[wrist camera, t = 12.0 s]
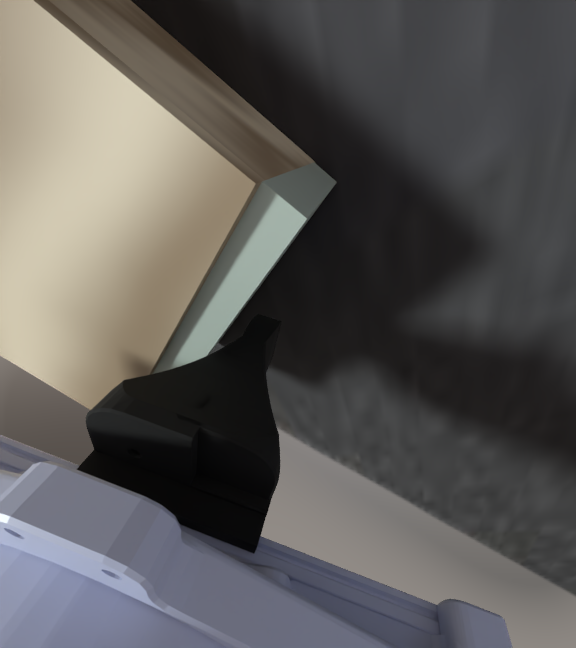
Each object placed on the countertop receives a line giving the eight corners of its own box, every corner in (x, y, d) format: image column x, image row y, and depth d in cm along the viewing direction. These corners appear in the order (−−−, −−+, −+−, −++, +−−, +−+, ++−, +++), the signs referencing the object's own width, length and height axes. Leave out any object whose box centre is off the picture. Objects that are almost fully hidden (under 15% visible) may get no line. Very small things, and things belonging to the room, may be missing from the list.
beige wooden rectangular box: (315, 162, 11) (255, 183, 5) (202, 333, 18) (119, 427, 12) (-10, -122, 9) (-697, -601, 3) (-2, 191, 16) (-224, 220, 10)
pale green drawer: (336, 182, 11) (307, 218, 6) (215, 346, 18) (149, 433, 13) (11, -103, 9) (-499, -451, 4) (11, 204, 16) (-175, 236, 11)
